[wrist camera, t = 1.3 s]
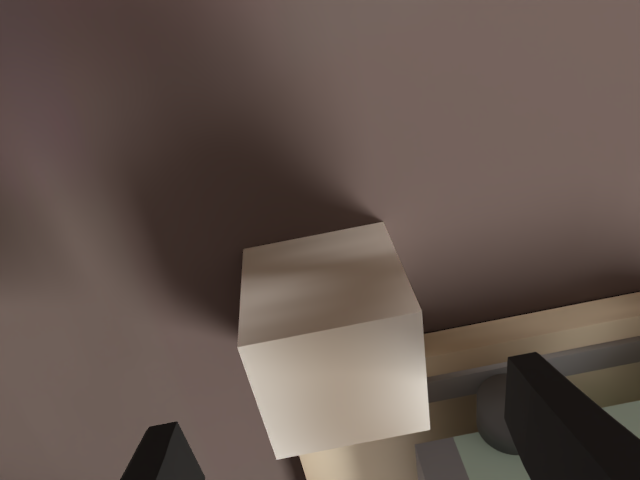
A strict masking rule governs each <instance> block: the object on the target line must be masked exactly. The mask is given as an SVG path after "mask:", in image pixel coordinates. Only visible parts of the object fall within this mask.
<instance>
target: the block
mask: <svg viewBox="0 0 640 480" xmlns="http://www.w3.org/2000/svg"><path fill="white" fill-rule="evenodd" d="M237 348H238V351H239V354H240V356H241V359H242V362H243V365H244V368H245V371H246V373H247V376H248V379H249V382H250V385H251V388H252V391H253V393H254V396H255V399H256V402H257V405H258V408H259V411H260V413H261V416H262V419H263V422H264V425H265V428H266V431H267V433H268V436H269V439H270V442H271V445H272V448H273V451H274V453H275V456H276V459H277V460H278V459H283V458H288V457H293V456H299V455H304V454H309V453H314V452H319V451H324V450H329V449H334V448H340V447H345V446H350V445H355V444H360V443H365V442H370V441H375V440H381V439H386V438H391V437H396V436H401V435H406V434H411V433H416V432H422V431H427V430H430V418H429V404H428V390H427V376H426V361H425V347H424V333H423V319H422V310H421V308H420V306H419V303H418V301H417V299H416V296H415V294H414V292H413V289H412V287H411V285H410V282H409V280H408V278H407V276H406V273H405V271H404V269H403V266H402V264H401V262H400V259H399V257H398V255H397V252H396V250H395V248H394V246H393V243H392V241H391V239H390V236H389V234H388V232H387V229H386V227H385V225H384V222H379V223H374V224H369V225H364V226H359V227H354V228H349V229H343V230H338V231H333V232H328V233H323V234H318V235H313V236H308V237H303V238H297V239H292V240H287V241H282V242H277V243H272V244H267V245H262V246H257V247H251V248H246V249H243V262H242V278H241V295H240V311H239V328H238V345H237Z"/></svg>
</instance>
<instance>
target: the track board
mask: <svg viewBox="0 0 640 480" xmlns="http://www.w3.org/2000/svg"><path fill="white" fill-rule="evenodd" d="M424 347H425V361H426V376H427V390H428V404H429V418H430V430H427V431H422V432H416V433H411V434H406V435H401V436H396V437H391V438H386V439H381V440H375V441H370V442H365V443H360V444H355V445H350V446H345V447H340V448H334V449H329V450H324V451H319V452H314V453H309V454H304V455H299V457H300V460H301V463H302V466H303V470H304V473H305V476H306V479H307V480H418V474H417V464H416V454H415V444H420V443H425V442H430V441H435V440H440V439H445V438H450V437H455V436H460V435H466V434H471V433H476V432H478V429H477V424H476V408H477V391H478V388H479V386H480V385H481V383H482V382H483V381H484V380H486V379H487V378H489V377H491V376H494V375H497V374H504V373H507V360H508V357H511V356H516V355H521V354H526V353H531V352H537V353H539V354H540V355H541V356H542V357H543V358H545V359H546V360H547V361H548V362H549V363H550V364H551V365H552V366H554V367H555V368H556V369H557V370H558V371H559V372H560V373H561V374H563V375H564V376H565V377H566V378H567V379H568V380H569V381H571V382H572V383H573V384H574V385H575V386H576V387H577V388H579V389H580V390H581V391H582V392H583V393H584V394H586V395H587V396H588V397H589V398H590V399H591V400H593V401H594V402H595V403H596V404H597V405H599V406H600V407H601V408H603V407H608V406H614V405H619V404H624V403H629V402H634V401H639V400H640V292H636V293H631V294H626V295H621V296H616V297H611V298H606V299H601V300H596V301H590V302H585V303H580V304H575V305H570V306H565V307H560V308H555V309H550V310H544V311H539V312H534V313H529V314H524V315H519V316H514V317H509V318H504V319H499V320H493V321H488V322H483V323H478V324H473V325H468V326H463V327H458V328H453V329H447V330H442V331H437V332H432V333H427V334H424Z"/></svg>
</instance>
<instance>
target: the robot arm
mask: <svg viewBox="0 0 640 480" xmlns="http://www.w3.org/2000/svg"><path fill="white" fill-rule="evenodd" d="M504 419H505V422H506V424H507V427H508V430H509V432H510V435H511V437H512V440H513V442H514V445H515V447H516V449H517V452H518V454H519V456H520V459H521V461H522V464H523V466H524V468H525V470H526V472H527V473H528V475H529V477H530V479H531V480H640V439H639V438H638V437H637V436H635V435H634V434H633V433H632V432H631V431H629V430H628V429H627V428H626V427H624V426H623V425H622V424H621V423H619V422H618V421H617V420H616V419H614V418H613V417H612V416H611V415H609V414H608V413H607V412H606V411H605V410H603V409H602V408H601V407H600V406H599V405H597V404H596V403H595V402H594V401H593V400H591V399H590V398H589V397H588V396H587V395H586V394H584V393H583V392H582V391H581V390H580V389H579V388H577V387H576V386H575V385H574V384H573V383H572V382H571V381H569V380H568V379H567V378H566V377H565V376H564V375H563V374H561V373H560V372H559V371H558V370H557V369H556V368H555V367H554V366H552V365H551V364H550V363H549V362H548V361H547V360H546V359H545V358H543V357H542V356H541V355H540V354H539V353H537V352H531V353H526V354H521V355H516V356H511V357H508V360H507V377H506V394H505V411H504ZM120 480H205V476H204V474H203V472H202V470H201V468H200V466H199V464H198V462H197V460H196V458H195V456H194V454H193V452H192V450H191V448H190V446H189V444H188V442H187V440H186V438H185V436H184V434H183V432H182V430H181V428H180V426H179V424H178V422H172V423H167V424H162V425H156V426H151V427H149V428H148V429H147V431H146V432H145V434H144V436H143V438H142V440H141V442H140V444H139V445H138V447H137V449H136V451H135V453H134V455H133V457H132V459H131V460H130V462H129V464H128V466H127V468H126V470H125V472H124V474H123V475H122V477H121V479H120Z"/></svg>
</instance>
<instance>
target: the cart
mask: <svg viewBox="0 0 640 480" xmlns="http://www.w3.org/2000/svg"><path fill="white" fill-rule="evenodd" d="M506 377H507V373H504V374H497V375H494V376H491V377H489V378H487V379H486V380H484V381H483V382H482V383H481V385H480V386H479V388H478V391H477V408H476V424H477V429H478V432H476V433H471V434H466V435H460V436H455V437H450V438H445V439H440V440H435V441H430V442H425V443H420V444H415V454H416V464H417V474H418V480H531V479H530V477H529V475H528V473H527V472H526V470H525V468H524V466H523V464H522V461H521V459H520V456H519V454H518V452H517V449H516V447H515V445H514V442H513V440H512V437H511V435H510V432H509V430H508V427H507V424H506V422H505V419H504V411H505V394H506ZM602 409H603V410H605V411H606V412H607V413H608V414H609V415H611V416H612V417H613V418H614V419H616V420H617V421H618V422H619V423H621V424H622V425H623V426H624V427H626V428H627V429H628V430H629V431H631V432H632V433H633V434H634V435H635V436H637V437H638V438H639V439H640V400H639V401H634V402H629V403H624V404H619V405H614V406H608V407H603V408H602Z"/></svg>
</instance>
